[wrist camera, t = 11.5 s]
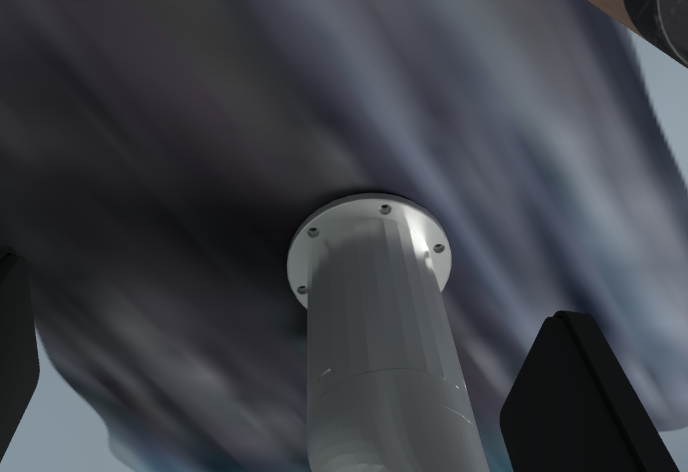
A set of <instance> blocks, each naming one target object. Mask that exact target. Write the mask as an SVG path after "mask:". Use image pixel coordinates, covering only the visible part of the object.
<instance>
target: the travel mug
mask: <svg viewBox="0 0 688 472" xmlns="http://www.w3.org/2000/svg"><path fill="white" fill-rule="evenodd" d="M588 1H589V2H591V3H592V4H594V5H595V6H596V7H598V8H599V9H601V10H602V11H604V12H605V13H607V14H608V15H610V16H611V17H613V18H614V19H616V20H617V21H619V22H620V23H621V24H623V25H624V26H626V27H627V28H629V29H630V30H632V31H633V32H635V33H636V34H638V35H639V36H641V37H642V38H644V39H645V40H647V41H648V42H649V43H651V44H652V45H654V46H655V47H657V48H658V49H660V50H661V51H663V52H664V53H666V54H667V55H669V56H670V57H671V58H673V59H674V60H676V61H677V62H679V63H680V64H682V65H683V66H685V67H686V68H688V0H588Z"/></svg>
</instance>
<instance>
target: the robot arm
mask: <svg viewBox="0 0 688 472" xmlns="http://www.w3.org/2000/svg"><path fill="white" fill-rule="evenodd" d="M450 270H451V251H450V247H449V243H448V240H447V237H446V235H445V232H444V229H443V228H442V227H441V225H440V224H439V222H438V221H437V219H436V218H435V217H434V216H433V215H432V214H430V213H429V212H428V211H427V210H426V209H425V208H423V207H421V206H420V205H418V204H416V203H415V202H413V201H410V200H408V199H405V198H402V197H400V196H395V195H390V194H384V193H363V194H356V195H350V196H346V197H343V198H340V199H337V200H334V201H332V202H330V203H328V204H326V205H325V206H323V207H321V208H319V209H318V210H317V211H315V212H314V213H313V214H311V215H310V216H309V217H308V218H307V219H306V220H305V221H304V222H303V223H302V224H301V226H300V227H299V228H298V229H297V231H296V233H295V235H294V237H293V238H292V240H291V244H290V247H289V251H288V258H287V274H288V280H289V283H290V286H291V289H292V291H293V293H294V294H295V296H296V298H297V299H298V301H299V302H300V303H301V304H302V305H303V306H304V307H305V308H306V309H307V452H308V459H309V463H310V467H311V471H312V472H490V471H489V468H488V465H487V461H486V458H485V455H484V451H483V448H482V444H481V441H480V437H479V434H478V430H477V427H476V423H475V419H474V415H473V412H472V408H471V404H470V400H469V397H468V393H467V389H466V385H465V382H464V378H463V374H462V371H461V367H460V363H459V359H458V356H457V352H456V348H455V344H454V341H453V337H452V333H451V329H450V326H449V322H448V318H447V315H446V311H445V307H444V303H443V300H442V296H441V292H442V290H443V289H444V286H445V284H446V282H447V280H448V278H449V274H450ZM39 367H40V366H39V359H38V350H37V343H36V334H35V327H34V319H33V311H32V303H31V295H30V287H29V280H28V272H27V264H26V260H25V258H24V257H21V256H16V253H15V251H14V249H13V248H12V247H9V246H0V462H1V460H2V458H3V456H4V454H5V452H6V450H7V448H8V446H9V443H10V441H11V439H12V437H13V435H14V433H15V431H16V429H17V427H18V424H19V423H20V420H21V418H22V416H23V414H24V412H25V410H26V408H27V406H28V404H29V402H30V399H31V397H32V395H33V393H34V391H35V389H36V386H37V383H38V379H39V373H40V368H39ZM500 428H501V432H502V435H503V438H504V441H505V445H506V448H507V451H508V454H509V458H510V461H511V464H512V468H513V471H514V472H680V471H679V470H678V468H677V466H676V464H675V462H674V461H673V459H672V457H671V455H670V453H669V452H668V450H667V448H666V446H665V445H664V443H663V441H662V439H661V438H660V436H659V434H658V432H657V430H656V428H655V427H654V425H653V423H652V421H651V419H650V418H649V416H648V414H647V412H646V410H645V409H644V407H643V405H642V403H641V401H640V400H639V398H638V396H637V394H636V393H635V391H634V389H633V387H632V385H631V384H630V382H629V380H628V378H627V376H626V375H625V373H624V371H623V369H622V367H621V366H620V364H619V362H618V360H617V358H616V357H615V355H614V353H613V351H612V349H611V348H610V346H609V344H608V342H607V341H606V339H605V337H604V335H603V333H602V332H601V330H600V328H599V326H598V324H597V323H596V321H595V319H594V318H593V317H592V315H590V314H588V313H580V312H571V311H562V310H561V311H557V312H556V313H555V314H554V316H553V317H548V318H546V319H545V321H544V322H543V324H542V327H541V329H540V331H539V333H538V335H537V337H536V339H535V341H534V343H533V345H532V347H531V349H530V351H529V353H528V355H527V357H526V360H525V362H524V364H523V366H522V368H521V370H520V372H519V374H518V376H517V378H516V380H515V382H514V384H513V386H512V388H511V391H510V393H509V395H508V397H507V399H506V401H505V403H504V405H503V407H502V410H501V413H500Z"/></svg>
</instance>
